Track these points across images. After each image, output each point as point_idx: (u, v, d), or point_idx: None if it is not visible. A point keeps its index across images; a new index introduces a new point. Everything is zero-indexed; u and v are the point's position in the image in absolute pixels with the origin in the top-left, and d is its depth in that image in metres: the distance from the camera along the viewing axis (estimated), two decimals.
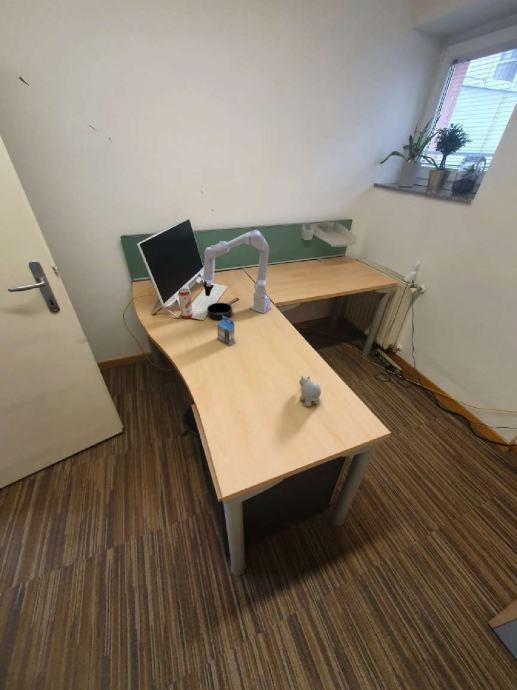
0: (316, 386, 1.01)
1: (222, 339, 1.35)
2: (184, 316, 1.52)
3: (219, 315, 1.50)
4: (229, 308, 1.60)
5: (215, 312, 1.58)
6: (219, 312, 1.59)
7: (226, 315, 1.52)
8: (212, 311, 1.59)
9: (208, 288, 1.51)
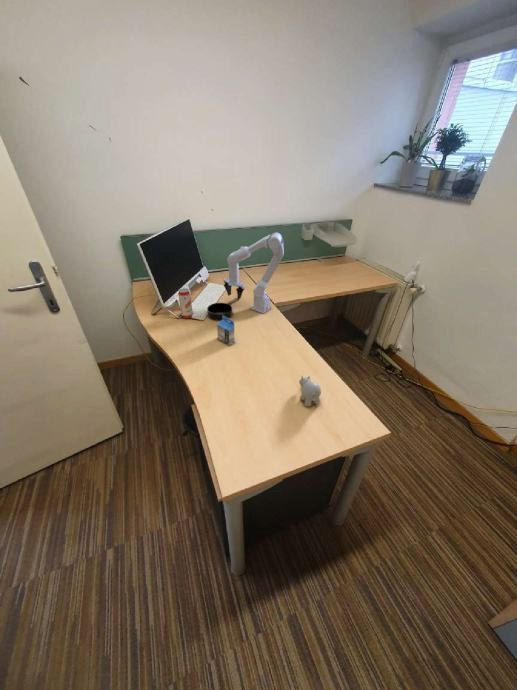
0: (316, 386, 1.01)
1: (222, 339, 1.35)
2: (184, 316, 1.52)
3: (219, 315, 1.50)
4: (229, 308, 1.60)
5: (215, 312, 1.58)
6: (219, 312, 1.59)
7: (226, 315, 1.52)
8: (212, 311, 1.59)
9: (240, 291, 1.59)
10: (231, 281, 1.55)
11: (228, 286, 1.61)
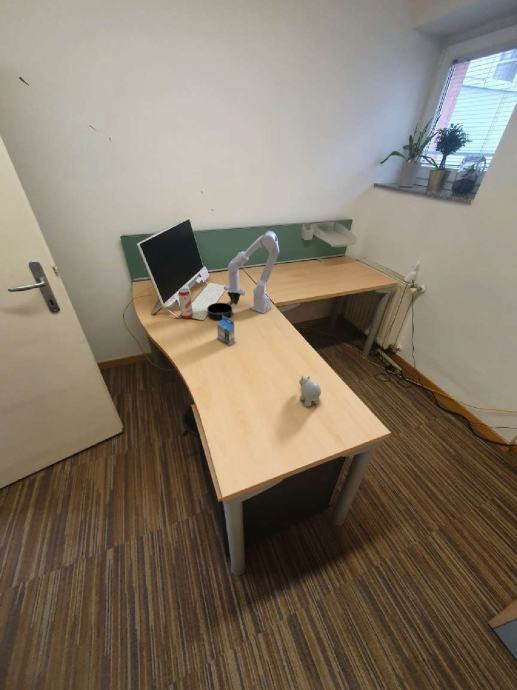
0: (316, 386, 1.01)
1: (222, 339, 1.35)
2: (184, 316, 1.52)
3: (219, 315, 1.50)
4: (229, 308, 1.60)
5: (215, 312, 1.58)
6: (219, 312, 1.59)
7: (226, 315, 1.52)
8: (212, 311, 1.59)
9: (237, 296, 1.63)
10: (231, 288, 1.58)
11: (232, 294, 1.63)
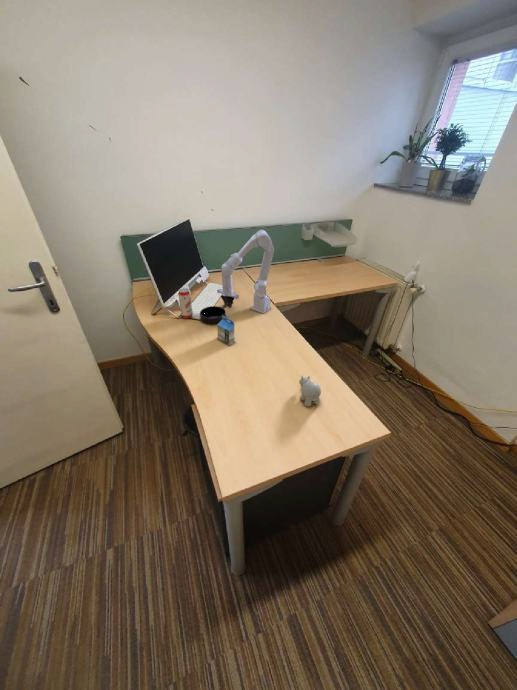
0: (316, 386, 1.01)
1: (222, 339, 1.35)
2: (184, 316, 1.52)
3: (212, 319, 1.47)
4: (223, 312, 1.56)
5: (208, 316, 1.55)
6: (212, 315, 1.55)
7: (219, 319, 1.48)
8: (205, 315, 1.55)
9: (230, 300, 1.59)
10: (225, 291, 1.54)
11: (225, 297, 1.59)
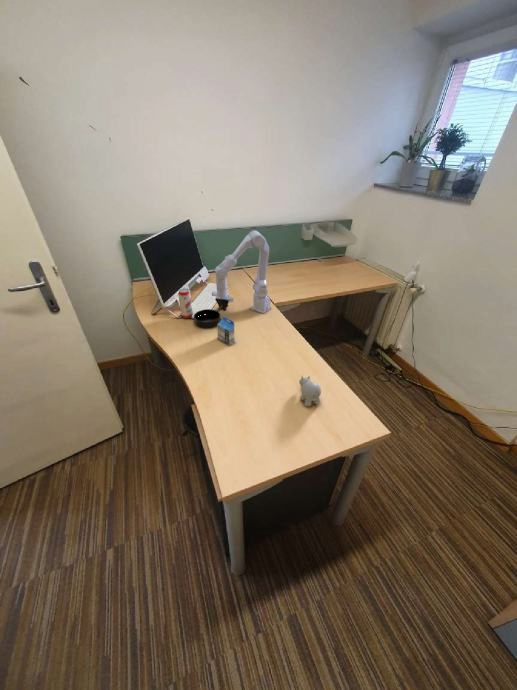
0: (316, 386, 1.01)
1: (222, 339, 1.35)
2: (184, 316, 1.52)
3: (206, 323, 1.43)
4: (217, 315, 1.53)
5: (202, 319, 1.51)
6: (207, 319, 1.52)
7: (213, 323, 1.45)
8: (199, 318, 1.52)
9: (225, 303, 1.55)
10: (219, 294, 1.50)
11: (220, 300, 1.55)
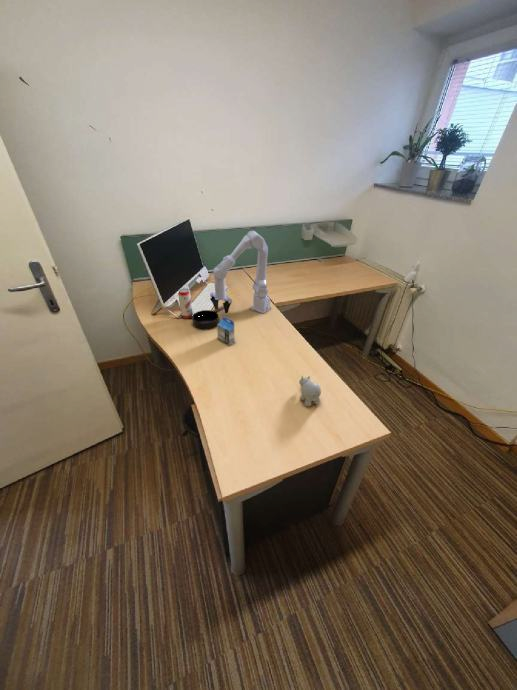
0: (316, 386, 1.01)
1: (222, 339, 1.35)
2: (184, 316, 1.52)
3: (204, 324, 1.42)
4: (216, 316, 1.52)
5: (201, 320, 1.51)
6: (205, 320, 1.51)
7: (212, 324, 1.44)
8: (198, 319, 1.51)
9: (227, 305, 1.53)
10: (217, 295, 1.50)
11: (215, 300, 1.56)
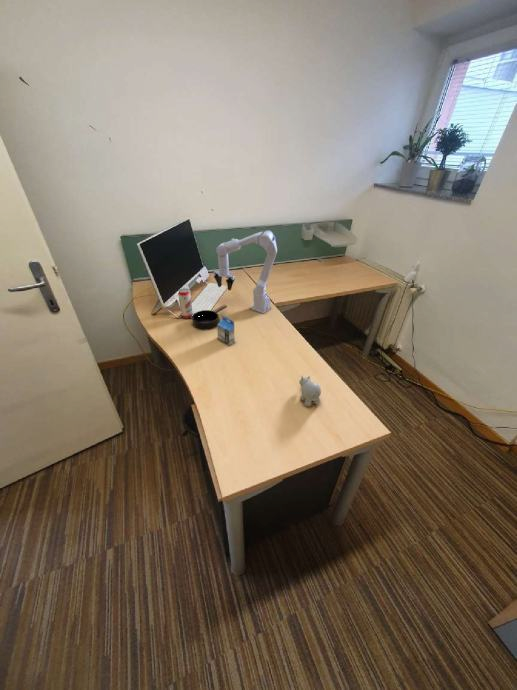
0: (316, 386, 1.01)
1: (222, 339, 1.35)
2: (184, 316, 1.52)
3: (204, 324, 1.42)
4: (216, 316, 1.52)
5: (201, 320, 1.51)
6: (205, 320, 1.51)
7: (212, 324, 1.44)
8: (198, 319, 1.51)
9: (230, 282, 1.58)
10: (221, 272, 1.54)
11: (218, 277, 1.60)
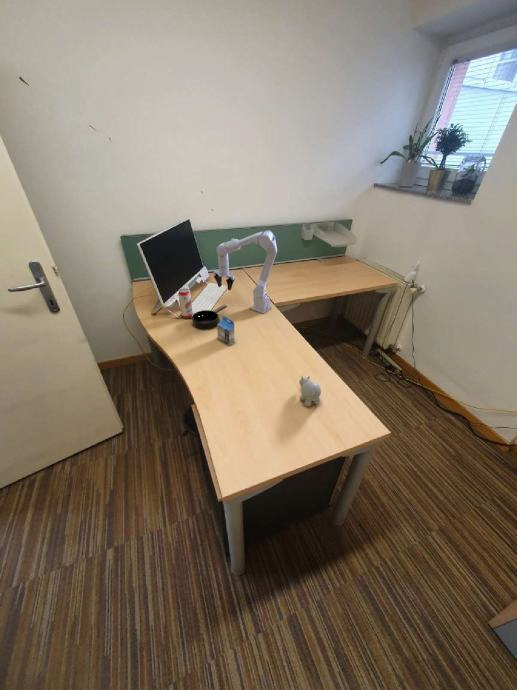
0: (316, 386, 1.01)
1: (222, 339, 1.35)
2: (184, 316, 1.52)
3: (204, 324, 1.42)
4: (216, 316, 1.52)
5: (201, 320, 1.51)
6: (205, 320, 1.51)
7: (212, 324, 1.44)
8: (198, 319, 1.51)
9: (230, 282, 1.58)
10: (221, 272, 1.54)
11: (218, 277, 1.60)
